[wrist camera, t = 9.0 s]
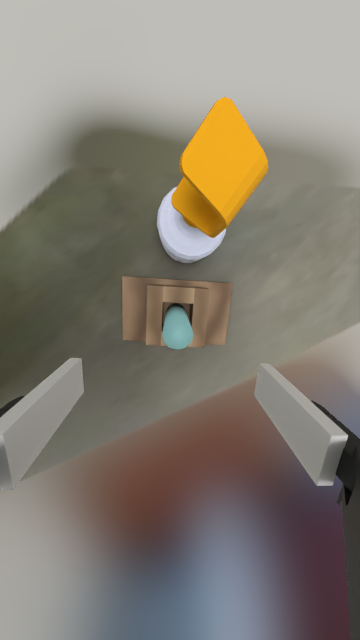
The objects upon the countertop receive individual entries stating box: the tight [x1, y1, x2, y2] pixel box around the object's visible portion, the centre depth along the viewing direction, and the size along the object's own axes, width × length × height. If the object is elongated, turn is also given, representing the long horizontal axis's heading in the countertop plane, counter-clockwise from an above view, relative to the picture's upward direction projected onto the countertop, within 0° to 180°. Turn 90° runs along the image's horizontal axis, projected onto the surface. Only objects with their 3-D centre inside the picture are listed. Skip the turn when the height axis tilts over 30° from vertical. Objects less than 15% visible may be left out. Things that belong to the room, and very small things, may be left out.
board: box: [122, 276, 233, 348], centre depth 34 cm, size 20×12×6 cm, turn 86°
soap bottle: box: [157, 97, 268, 263], centre depth 22 cm, size 9×9×25 cm
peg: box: [162, 303, 193, 349], centre depth 29 cm, size 4×4×14 cm
